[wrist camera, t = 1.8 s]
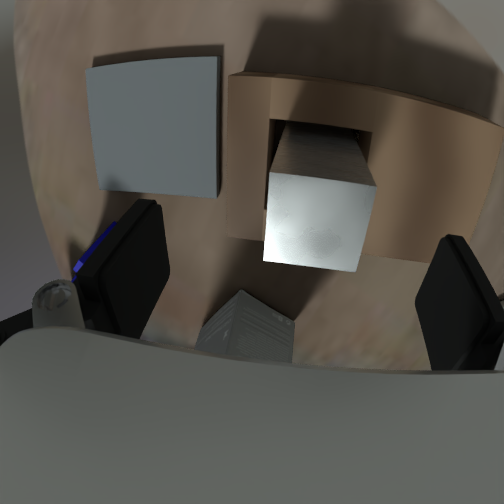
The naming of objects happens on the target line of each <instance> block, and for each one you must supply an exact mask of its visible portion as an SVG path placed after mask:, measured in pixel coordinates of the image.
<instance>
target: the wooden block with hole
mask: <svg viewBox="0 0 504 504" xmlns="http://www.w3.org/2000/svg"><path fill="white" fill-rule="evenodd" d="M276 119H282V120H292V121H301V122H309V123H317V124H325V125H332V126H339V127H345V128H352V129H358V130H360V133H359V140H358V146H359V148H360V150H361V152H362V154H363V156H364V159H365V161H366V163H367V165H368V167H369V170H370V172H371V174H372V176H373V179H374V181H375V183H376V185H377V190H376V194H375V198H374V203H373V207H372V211H371V216H370V220H369V224H368V228H367V232H366V236H365V240H364V243H363V247H362V251H361V254H365V255H373V256H380V257H388V258H395V259H402V260H410V261H417V262H424V263H431V261H432V259H433V256H434V254H435V251H436V249H437V246H438V244H439V241H440V239H441V238H442V237H445V236H446V235H447V234H452V235H458V236H463V238H464V239H465V240H466V242H467V244H468V245H469V242H470V240H471V237H472V235H473V232H474V230H475V227H476V224H477V222H478V219H479V216H480V214H481V211H482V208H483V205H484V202H485V199H486V196H487V193H488V190H489V187H490V184H491V181H492V177H493V174H494V171H495V167H496V164H497V160H498V156H499V153H500V149H501V145H502V141H503V137H504V128H503V127H501V126H499V125H498V124H496V123H494V122H492V121H490V120H488V119H486V118H484V117H482V116H480V115H478V114H476V113H473V112H470V111H467V110H464V109H461V108H458V107H455V106H452V105H448V104H445V103H442V102H438V101H435V100H431V99H427V98H424V97H420V96H416V95H412V94H408V93H403V92H399V91H395V90H390V89H386V88H381V87H376V86H371V85H365V84H360V83H354V82H348V81H342V80H335V79H328V78H320V77H312V76H303V75H293V74H282V73H268V72H249V71H242V72H239V73H235V74H232V75H229V76H228V117H227V237H233V238H241V239H249V240H257V241H265V232H266V218H267V203H268V189H269V174H270V170H271V167H272V164H273V155H274V141H275V125H276Z"/></svg>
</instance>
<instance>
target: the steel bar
mask: <svg viewBox="0 0 504 504" xmlns="http://www.w3.org/2000/svg"><path fill="white" fill-rule="evenodd" d="M376 190H377V185H376V183H375V181H374V179H373V176H372V174H371V172H370V170H369V167H368V165H367V163H366V161H365V159H364V156H363V154H362V152H361V150H360V148H359V146H358V144H357V142H356V140H355V138H354V136H353V134H352V132H351V130H350V128H345V127H339V126H332V125H325V124H317V123H309V122H301V121H292V120H287V122H286V125H285V128H284V131H283V134H282V137H281V140H280V143H279V146H278V149H277V152H276V155H275V158H274V161H273V164H272V167H271V170H270V174H269V189H268V203H267V218H266V232H265V246H264V260H263V261H271V262H279V263H287V264H294V265H302V266H310V267H318V268H326V269H334V270H342V271H349V272H356V269H357V265H358V262H359V258H360V255H361V251H362V247H363V243H364V240H365V236H366V232H367V228H368V224H369V220H370V216H371V211H372V207H373V203H374V198H375V194H376Z"/></svg>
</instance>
